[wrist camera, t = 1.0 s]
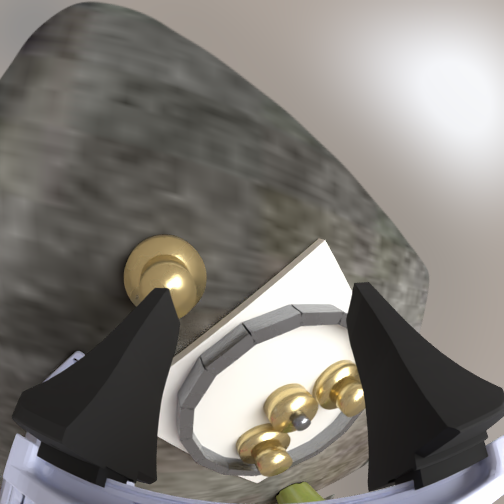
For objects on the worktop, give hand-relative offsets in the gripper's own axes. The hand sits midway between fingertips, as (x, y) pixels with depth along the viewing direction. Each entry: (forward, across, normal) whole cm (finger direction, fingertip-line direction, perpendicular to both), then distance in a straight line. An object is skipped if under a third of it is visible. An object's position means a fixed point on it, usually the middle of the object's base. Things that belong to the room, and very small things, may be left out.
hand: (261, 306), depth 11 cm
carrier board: (+6, -1, +20) cm, 21 cm away
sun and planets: (+5, -3, +21) cm, 22 cm away
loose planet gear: (+8, +8, +4) cm, 12 cm away
